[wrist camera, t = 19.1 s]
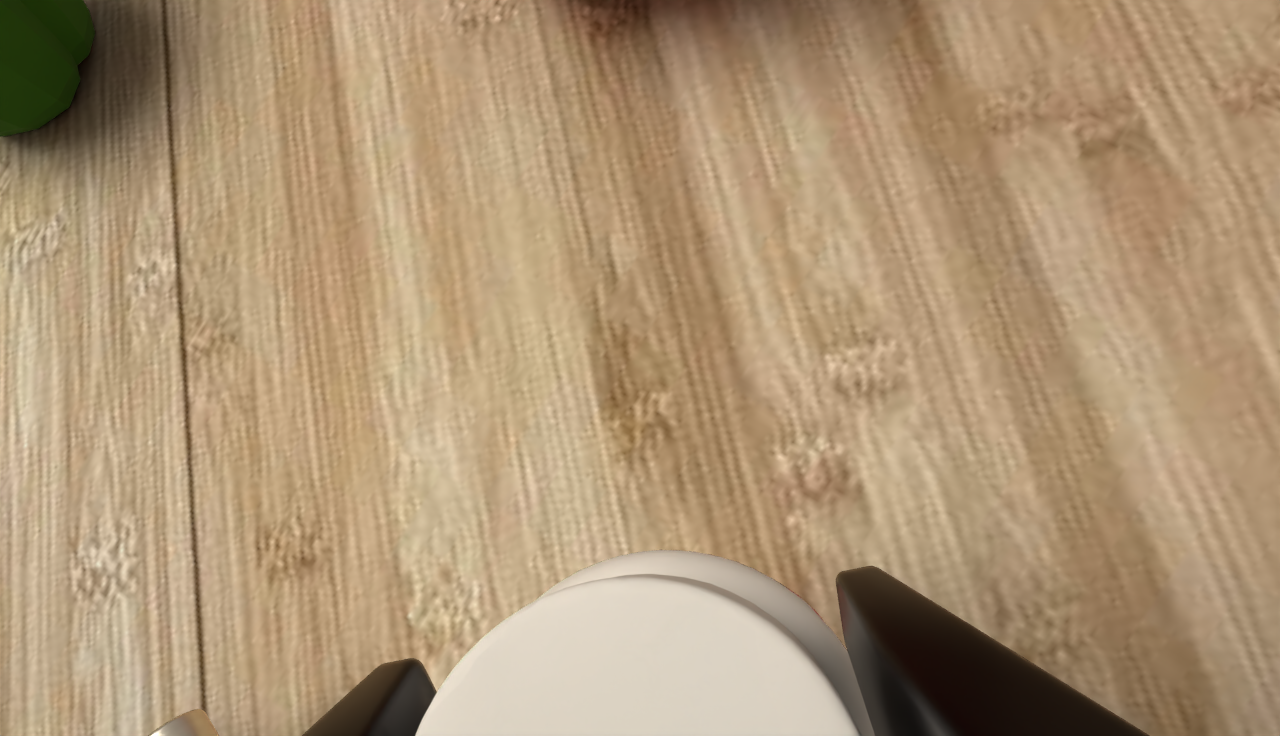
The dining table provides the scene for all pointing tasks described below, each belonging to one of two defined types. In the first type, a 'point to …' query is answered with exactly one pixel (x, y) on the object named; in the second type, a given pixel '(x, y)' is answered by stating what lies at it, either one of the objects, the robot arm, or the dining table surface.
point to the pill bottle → (655, 659)
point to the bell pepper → (40, 59)
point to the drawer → (187, 725)
